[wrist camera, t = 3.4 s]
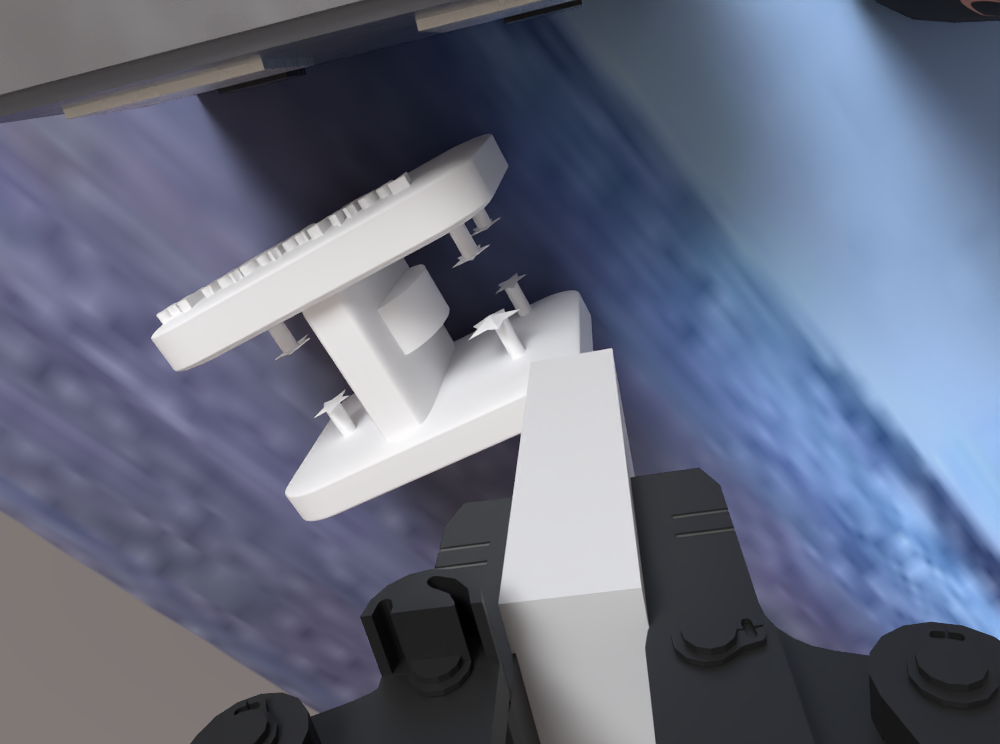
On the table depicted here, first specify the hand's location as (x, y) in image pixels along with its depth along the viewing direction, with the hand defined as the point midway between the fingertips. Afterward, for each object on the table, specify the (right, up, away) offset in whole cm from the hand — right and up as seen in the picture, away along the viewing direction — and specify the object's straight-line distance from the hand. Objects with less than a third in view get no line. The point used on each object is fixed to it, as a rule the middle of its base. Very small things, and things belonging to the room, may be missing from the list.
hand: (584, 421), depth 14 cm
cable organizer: (-6, +6, +25) cm, 26 cm away
